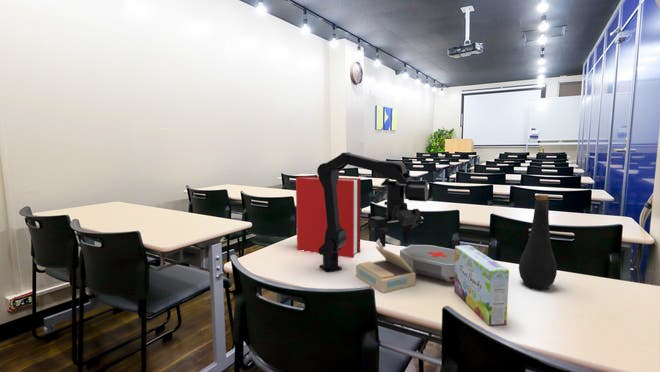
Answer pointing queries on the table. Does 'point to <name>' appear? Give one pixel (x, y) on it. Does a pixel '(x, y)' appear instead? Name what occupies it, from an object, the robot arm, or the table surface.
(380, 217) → the robot arm
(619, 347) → the table surface
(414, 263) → the first aid kit
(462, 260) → the snack box
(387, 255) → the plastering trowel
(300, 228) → the book
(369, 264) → the carton
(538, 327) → the table surface
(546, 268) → the bottle
